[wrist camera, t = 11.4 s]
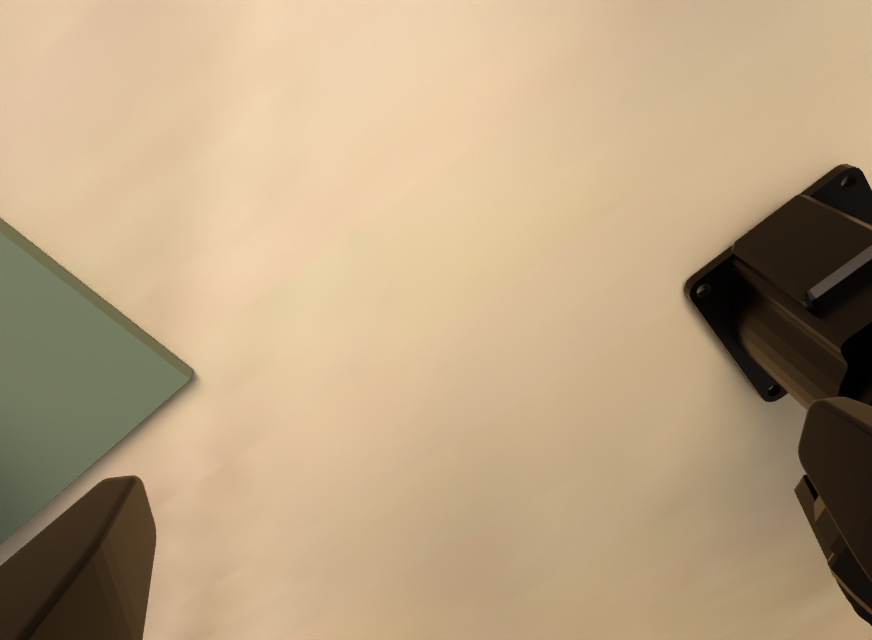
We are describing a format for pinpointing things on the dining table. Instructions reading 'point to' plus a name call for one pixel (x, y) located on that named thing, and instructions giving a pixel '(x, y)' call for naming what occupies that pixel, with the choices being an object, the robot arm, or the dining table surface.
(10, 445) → the rubber mat
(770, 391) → the robot arm
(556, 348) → the dining table surface
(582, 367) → the dining table surface
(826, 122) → the dining table surface
